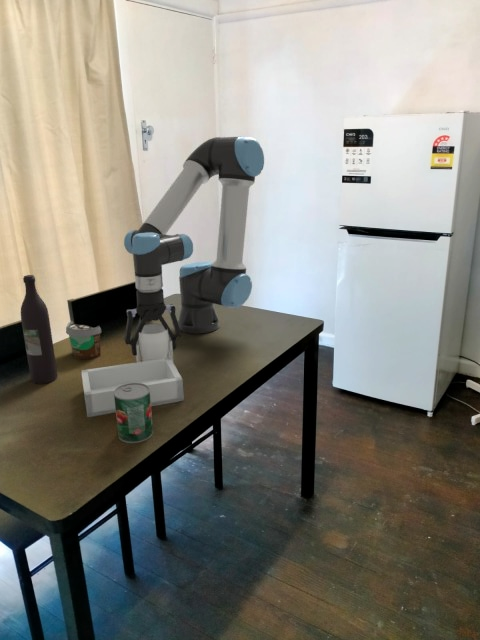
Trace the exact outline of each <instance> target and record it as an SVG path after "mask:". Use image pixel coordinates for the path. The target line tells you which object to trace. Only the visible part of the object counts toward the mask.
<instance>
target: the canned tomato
mask: <svg viewBox="0 0 480 640" xmlns="http://www.w3.org/2000/svg"><path fill="white" fill-rule="evenodd" d="M114 399H115V408H116V412H115V415H116V416H115V417H116V425H117V426H116V427H117V434H118V435H117V436H118V439H119V440H120V441H121V442H124V443H125V444H138V443H142V442H145V441H148V440H149V439H150V438H151V437H152V436H153V434H154V427H153V415H152V406H151V400H150V388H149V387H148V386H147V385H145V384H142V383H128V384H124V385H121V386H119V387H118V388H116V389H115V391H114Z"/></svg>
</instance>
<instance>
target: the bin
mask: <svg viewBox="0 0 480 640" xmlns="http://www.w3.org/2000/svg"><path fill="white" fill-rule="evenodd" d="M80 372H81V380H82V388H83V395H84V404H85V410H86V418H91V417H92V418H94V417H97V416H98V417H99V416H103V415H104V416H105V415H110V414H114V413H115V414H116V408H115V399H114V391H115V389H116V388H118V387H119V386H121V385H124V384H128V383H142V384H145V385H147V386H148V387H149V388H150V400H151V407H154V406H155V407H156V406H162V405H166V404H171V403H177V402H178V403H179V402H183V401H184V400H185V399H184V397H185V395H184V380H183V377H182V375H181V374H180V373H179V372H180V371H178V369H177V367H176V365H175V363H174V360H173V361H172V360H171V358H170V357H169V356H168V357H167V358H163V359H156V360H149V361H140V362H137V361H136V362H131V363H123V364H116V365H109V366H104V367H96V368H88V369H81V370H80Z"/></svg>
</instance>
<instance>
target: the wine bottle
mask: <svg viewBox="0 0 480 640" xmlns="http://www.w3.org/2000/svg"><path fill="white" fill-rule="evenodd" d="M22 279H23V283H24V287H25V295H24V299H23V301H22V304H21V306H20V321H21V326H22V332H23V339H24V345H25V351H26V357H27V363H28V370H29V377H30V380H31V382H32V383H33V384H39V385H43V384H49V383H52V382H53V381H55V380H57V378H58V371H57V370H58V369H57V364H56V363H57V362H56V355H55V349H54V343H53V335H52V334H53V333H52V329H51V321H50V314H49V311H48V307H47V305H46V303H45V302H44V300H43V298H42V297H41V296H40V295H39V293H38V291H37V287H36V277H35V275H34V274H27V275H23V278H22Z"/></svg>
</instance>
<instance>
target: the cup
mask: <svg viewBox="0 0 480 640" xmlns="http://www.w3.org/2000/svg"><path fill="white" fill-rule="evenodd" d="M169 338H170V336H169V334H168V329H167V330H166V329H165V328H164V326H163V325H162V323H147V324H145V325H144V327H143V329H142V332H141V333H140V332H139V339H138V341H137V342H138V344H139V352H140V358H141V360H142V361H149V360H156V359H163V358H168V356H169V351H168V344H169ZM142 361H141V362H142Z"/></svg>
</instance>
